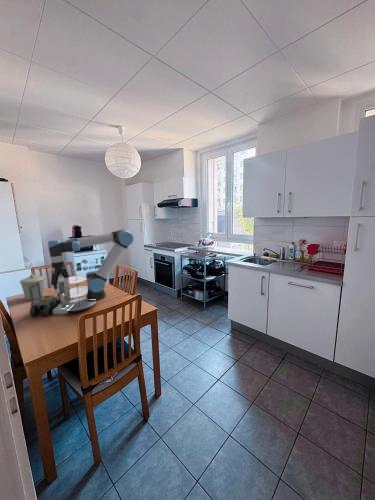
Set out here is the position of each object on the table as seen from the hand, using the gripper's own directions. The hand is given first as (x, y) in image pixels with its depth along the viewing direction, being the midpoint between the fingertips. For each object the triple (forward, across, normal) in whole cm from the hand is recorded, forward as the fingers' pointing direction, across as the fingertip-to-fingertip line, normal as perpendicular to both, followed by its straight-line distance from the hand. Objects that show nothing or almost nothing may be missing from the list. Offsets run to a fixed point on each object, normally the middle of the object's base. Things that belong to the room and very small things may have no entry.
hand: (62, 289), depth 156 cm
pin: (+15, 0, -1) cm, 15 cm away
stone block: (+16, -14, -7) cm, 22 cm away
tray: (+16, 0, -1) cm, 16 cm away
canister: (+16, -29, -39) cm, 51 cm away
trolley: (+16, +2, -13) cm, 21 cm away
